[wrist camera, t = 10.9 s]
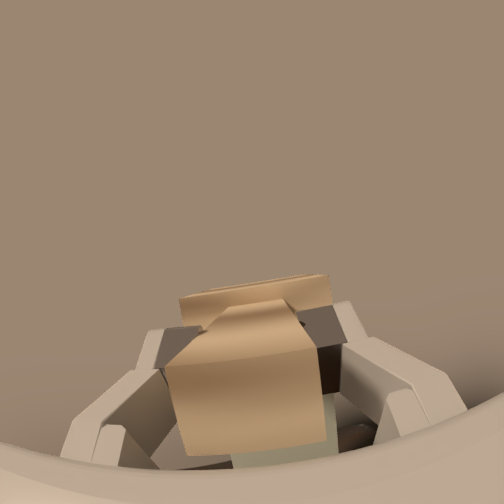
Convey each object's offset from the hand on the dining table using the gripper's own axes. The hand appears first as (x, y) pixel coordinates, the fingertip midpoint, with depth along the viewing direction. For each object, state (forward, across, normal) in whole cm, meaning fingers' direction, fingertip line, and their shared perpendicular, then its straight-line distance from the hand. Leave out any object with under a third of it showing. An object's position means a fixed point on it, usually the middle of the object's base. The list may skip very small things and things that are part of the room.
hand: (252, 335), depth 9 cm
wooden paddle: (+4, 0, -4) cm, 6 cm away
